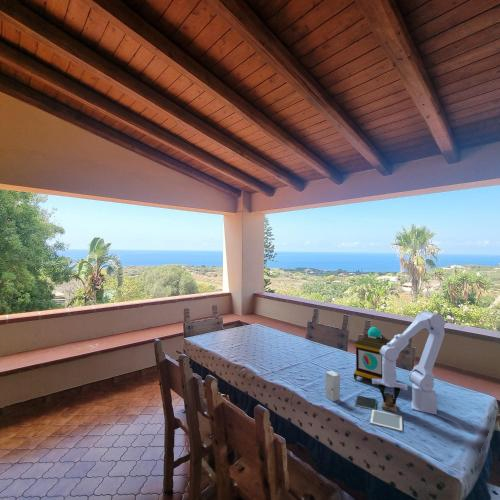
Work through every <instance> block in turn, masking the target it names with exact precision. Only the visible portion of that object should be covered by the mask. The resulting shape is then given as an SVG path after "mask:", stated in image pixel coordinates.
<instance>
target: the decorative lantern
mask: <svg viewBox="0 0 500 500" xmlns="http://www.w3.org/2000/svg"><path fill="white" fill-rule="evenodd" d="M391 340H392V339H388V338H386V336H384V335H382V332H381V330H380V329H379V328H378V327H376V326H372V327H370V328H369V329H368V331H367V334H366V335H365V336H364V337H362V338H359V339H358V340H356V341H355V342H354V343H353V344H354V345H353V346H354V347H355V358H356V359H355V362H356V363H355V371H354V373H353V379H354V380H355V381H356V380H358V377H360V378H363V379H366V380H369V381H372V378H373V379H382V355H381V354H380V352H379V350H381V347H382V346H384V345H387V343H389V342H390V341H391ZM385 389H387V386H385Z"/></svg>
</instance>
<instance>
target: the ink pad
mask: <svg viewBox="0 0 500 500" xmlns="http://www.w3.org/2000/svg"><path fill="white" fill-rule="evenodd" d="M377 404H378V400H376V398H371V397H367V396H366V397H365V396H361V395H357V396H356V399H355V403H354V406H355V407H359V408H363V409H368V410H371V411H372V409H373V410H377Z"/></svg>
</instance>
